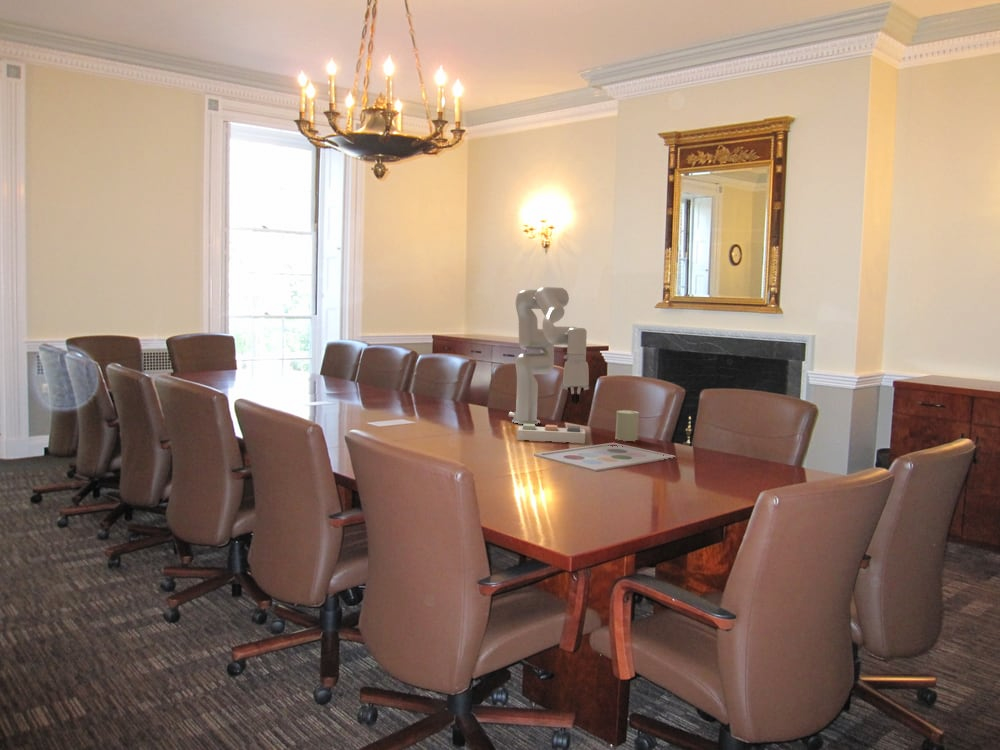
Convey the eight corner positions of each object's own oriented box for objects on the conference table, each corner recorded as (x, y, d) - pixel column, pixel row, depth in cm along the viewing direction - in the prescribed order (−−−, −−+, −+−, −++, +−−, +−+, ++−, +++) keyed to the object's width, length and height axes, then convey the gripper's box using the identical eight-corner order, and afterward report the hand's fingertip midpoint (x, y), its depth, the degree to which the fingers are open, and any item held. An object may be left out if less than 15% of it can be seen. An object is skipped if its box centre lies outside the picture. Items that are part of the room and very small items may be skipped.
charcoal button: (567, 436, 336) (567, 427, 336) (567, 434, 341) (567, 425, 340) (579, 436, 336) (579, 428, 335) (579, 434, 340) (579, 426, 340)
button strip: (517, 440, 335) (517, 430, 334) (518, 435, 345) (518, 425, 345) (584, 443, 333) (585, 433, 332) (584, 438, 344) (584, 428, 343)
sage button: (522, 434, 337) (523, 425, 337) (523, 432, 342) (523, 423, 342) (534, 434, 337) (535, 426, 337) (535, 432, 342) (535, 424, 341)
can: (631, 442, 338) (633, 413, 337) (611, 439, 343) (612, 410, 342) (641, 439, 346) (642, 410, 345) (621, 436, 351) (622, 408, 350)
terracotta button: (545, 435, 337) (545, 426, 336) (545, 433, 341) (545, 424, 341) (557, 435, 336) (557, 427, 336) (557, 433, 341) (557, 425, 341)
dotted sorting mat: (533, 453, 305) (613, 442, 333) (533, 457, 305) (613, 445, 333) (595, 469, 282) (675, 455, 310) (595, 473, 282) (675, 459, 310)
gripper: (557, 358, 333) (556, 404, 334) (595, 359, 332) (594, 405, 334) (557, 357, 341) (556, 402, 342) (594, 358, 340) (593, 403, 341)
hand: (575, 403), depth 338 cm, fingers closed
